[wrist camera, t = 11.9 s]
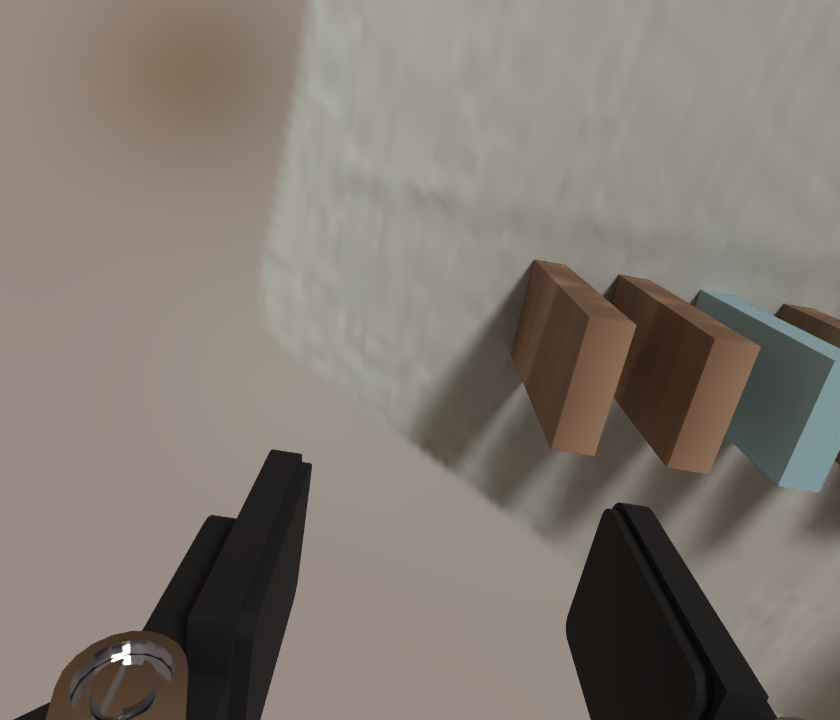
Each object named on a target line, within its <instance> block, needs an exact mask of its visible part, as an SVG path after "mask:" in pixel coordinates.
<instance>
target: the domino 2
mask: <svg viewBox="0 0 840 720" xmlns="http://www.w3.org/2000/svg"><path fill="white" fill-rule="evenodd" d="M610 303H611V304H612V305H613V306H615V307H616V308H617V309H618V310H619V311H620V312H622V313H623V314H624V315H625V316H626V317H628V318H629V319H630V320H631V321H632V322H633V323H635V324H636V325H637V326H636V329H635V332H634V335H633V338H632V341H631V344H630V347H629V350H628V354H627V357H626V360H625V363H624V366H623V369H622V372H621V375H620V378H619V382H618V385H617V388H616V391H615V394H614V398H615V400H616V401H617V402H618V404H619V405H620V406H621V408H622V409H623V410H624V412H625V413H626V414H627V416H628V417H629V418H630V420H631V421H632V422H633V424H634V425H635V426H636V428H637V429H638V430H639V431H640V433H641V434H642V435H643V437H644V438H645V439H646V441H647V442H648V443H649V445H650V446H651V447H652V449H653V450H654V451H655V453H656V454H657V455H658V457H659V458H660V459H661V461H662V462H663V463H664V465H665V466H666V467H667V468H672V469H678V470H685V471H691V472H697V473H704V474H709V473H710V471H711V468H712V466H713V463H714V461H715V458H716V456H717V453H718V451H719V449H720V446H721V444H722V441H723V439H724V436H725V434H726V431H727V429H728V426H729V424H730V421H731V419H732V417H733V414H734V412H735V409H736V407H737V404H738V402H739V399H740V397H741V394H742V392H743V390H744V387H745V385H746V382H747V380H748V377H749V375H750V372H751V370H752V367H753V365H754V362H755V360H756V358H757V355H758V353H759V350H760V348H761V346H759V345H757V344H756V343H754V342H752V341H751V340H749V339H747V338H746V337H744V336H742V335H741V334H739V333H737V332H736V331H734V330H732V329H731V328H729V327H727V326H726V325H724V324H722V323H721V322H719V321H717V320H716V319H714V318H712V317H711V316H709V315H707V314H706V313H704V312H702V311H701V310H699V309H697V308H696V307H694V306H692V305H691V304H689V303H687V302H686V301H684V300H682V299H681V298H679V297H677V296H676V295H674V294H672V293H671V292H669V291H667V290H666V289H664V288H662V287H661V286H659V285H657V284H656V283H654V282H652V281H651V280H647V279H641V278H635V277H630V276H624V275H619V276H618V279H617V283H616V286H615V289H614V293H613V296H612V299H611V302H610Z"/></svg>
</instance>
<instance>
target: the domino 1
mask: <svg viewBox="0 0 840 720" xmlns="http://www.w3.org/2000/svg"><path fill="white" fill-rule="evenodd" d="M636 326H637V325H636V324H635V323H633V322H632V321H631V320H630V319H629V318H628V317H626V316H625V315H624V314H623V313H622V312H620V311H619V310H618V309H617V308H616V307H615V306H613V305H612V304H611V303H610V302H609V301H607V300H606V299H605V298H604V297H603V296H602V295H600V294H599V293H598V292H597V291H596V290H595V289H593V288H592V287H591V286H590V285H589V284H587V283H586V282H585V281H584V280H583V279H582V278H580V277H579V276H578V275H577V274H576V273H575V272H573V271H572V270H571V269H570V268H569V267H567V266H566V265H562V264H556V263H551V262H545V261H539V260H534V263H533V267H532V271H531V275H530V279H529V283H528V287H527V291H526V295H525V300H524V304H523V308H522V312H521V316H520V320H519V324H518V328H517V332H516V336H515V340H514V344H513V348H512V352H511V355H512V357H513V360H514V362H515V364H516V367H517V369H518V371H519V374H520V376H521V379H522V381H523V383H524V386H525V388H526V390H527V393H528V395H529V398H530V400H531V402H532V405H533V407H534V409H535V412H536V414H537V417H538V419H539V421H540V424H541V426H542V428H543V431H544V433H545V436H546V438H547V440H548V443H549V445H550V447H551V449H552V450H559V451H565V452H571V453H578V454H584V455H590V456H595V453H596V450H597V447H598V444H599V441H600V438H601V434H602V431H603V428H604V425H605V422H606V419H607V416H608V413H609V410H610V406H611V403H612V400H613V397H614V394H615V391H616V388H617V385H618V382H619V378H620V375H621V372H622V369H623V366H624V363H625V360H626V357H627V354H628V350H629V347H630V344H631V341H632V338H633V335H634V332H635V329H636Z"/></svg>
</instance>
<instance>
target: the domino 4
mask: <svg viewBox="0 0 840 720" xmlns="http://www.w3.org/2000/svg"><path fill="white" fill-rule="evenodd" d="M778 318H779V319H781V320H783V321H785V322H787V323H789V324H791V325H793V326H795V327H797V328H799V329H801V330H803V331H805V332H807V333H809V334H811V335H813V336H815V337H817V338H819V339H821V340H823V341H825V342H827V343H829V344H831V345H833V346H835V347H838V348H840V320H838V319H836V318H834V317H831V316H829V315H826V314H824V313H822V312H819V311H817V310H815V309H810V308H805V307H799V306H793V305H788V304H783V307H782V309H781V312H780V314H779V316H778ZM835 461H836V462H837V463H838V464H840V451H839V453H838V455H837V457H836V459H835Z"/></svg>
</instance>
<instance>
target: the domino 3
mask: <svg viewBox="0 0 840 720" xmlns="http://www.w3.org/2000/svg"><path fill="white" fill-rule="evenodd" d="M695 307H696V308H697V309H699V310H701V311H702V312H704V313H706V314H707V315H709V316H711V317H712V318H714V319H716V320H717V321H719V322H721V323H722V324H724V325H726V326H727V327H729V328H731V329H732V330H734V331H736V332H737V333H739V334H741V335H742V336H744V337H746V338H747V339H749V340H751V341H752V342H754V343H756V344H757V345H759V346H761V348H760V350H759V353H758V355H757V358H756V360H755V362H754V365H753V367H752V370H751V372H750V375H749V377H748V380H747V382H746V385H745V387H744V390H743V392H742V394H741V397H740V399H739V402H738V404H737V407H736V409H735V412H734V414H733V417H732V419H731V421H730V424H729V426H728V429H727V431H726V434H725V436H726V437H727V438H728V439H729V440H730V441H731V442H732V443H734V444H735V445H736V446H737V447H738V448H739V449H740V450H741V451H742V452H743V453H744V454H745V455H746V456H747V457H748V458H749V459H750V460H751V461H752V462H753V463H754V464H755V465H756V466H757V467H758V468H759V469H760V470H761V471H762V472H764V473H765V474H766V475H767V476H768V477H769V478H770V479H771V480H772V481H773V482H774V483H775V484H776V485H777V486H780V487H786V488H793V489H799V490H805V491H812V492H818V493H819V491H820V489H821V487H822V485H823V483H824V481H825V479H826V477H827V475H828V473H829V471H830V469H831V467H832V465H833V463H834V461H835V459H836V457H837V455H838V453H839V451H840V348H838V347H835V346H833V345H831V344H829V343H827V342H825V341H823V340H821V339H819V338H817V337H815V336H813V335H811V334H809V333H807V332H805V331H803V330H801V329H799V328H797V327H795V326H793V325H791V324H789V323H787V322H785V321H783V320H781V319H779V318H777V317H775V316H773V315H771V314H769V313H767V312H765V311H763V310H761V309H758V308H756V307H754V306H752V305H750V304H748V303H746V302H744V301H742V300H740V299H738V298H736V297H734V296H732V295H728V294H722V293H716V292H711V291H705V290H700V293H699V296H698V299H697V302H696V305H695Z"/></svg>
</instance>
